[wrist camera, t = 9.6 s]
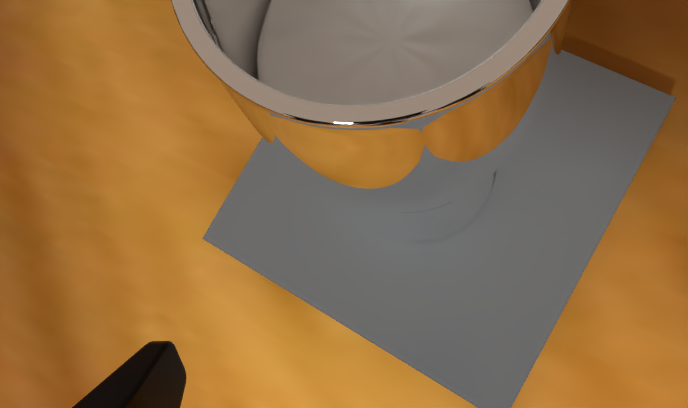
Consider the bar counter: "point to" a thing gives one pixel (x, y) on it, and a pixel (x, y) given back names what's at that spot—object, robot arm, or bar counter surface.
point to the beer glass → (387, 94)
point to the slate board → (460, 239)
